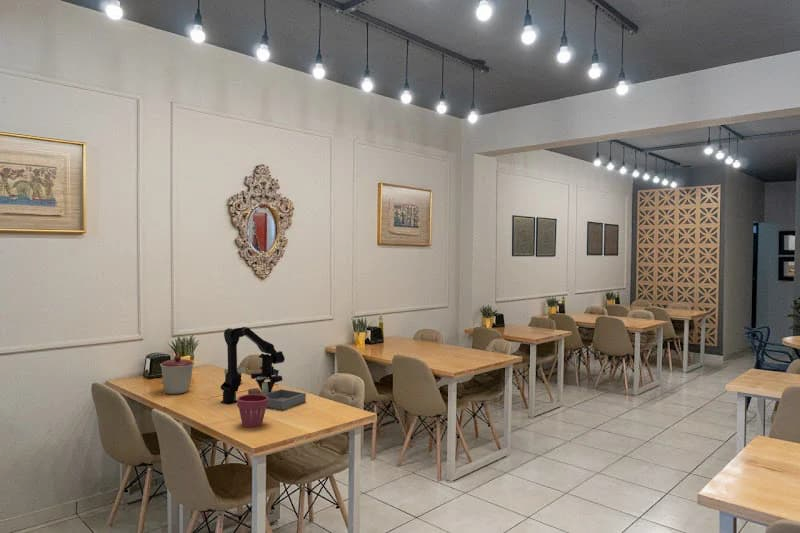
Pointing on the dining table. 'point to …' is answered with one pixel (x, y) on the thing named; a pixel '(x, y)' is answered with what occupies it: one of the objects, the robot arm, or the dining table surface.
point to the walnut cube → (253, 391)
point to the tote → (284, 399)
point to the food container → (237, 370)
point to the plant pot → (252, 409)
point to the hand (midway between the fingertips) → (266, 392)
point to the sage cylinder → (265, 388)
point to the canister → (176, 375)
